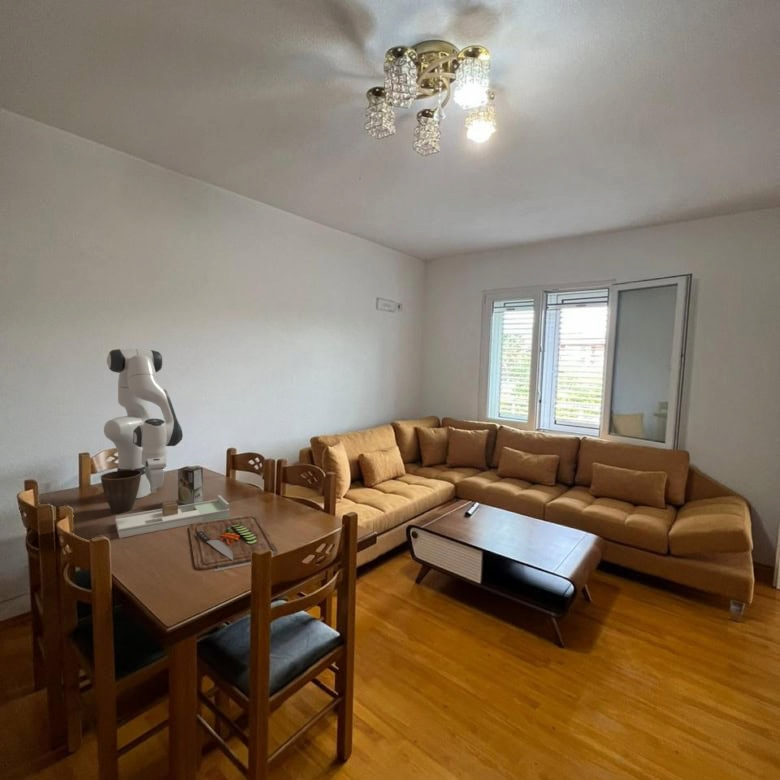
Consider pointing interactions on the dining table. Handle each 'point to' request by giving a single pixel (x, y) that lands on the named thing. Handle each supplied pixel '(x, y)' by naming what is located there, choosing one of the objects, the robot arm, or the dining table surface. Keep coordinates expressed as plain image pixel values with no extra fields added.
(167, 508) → the block
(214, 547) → the chopping board
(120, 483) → the plant pot
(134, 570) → the dining table surface
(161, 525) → the tray
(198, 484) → the coffee box
